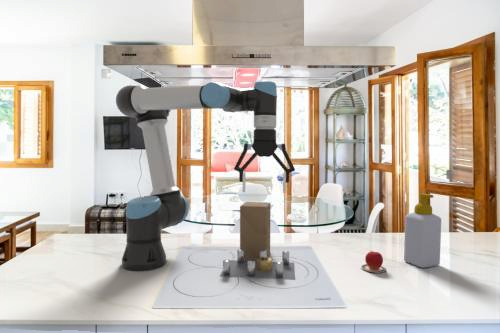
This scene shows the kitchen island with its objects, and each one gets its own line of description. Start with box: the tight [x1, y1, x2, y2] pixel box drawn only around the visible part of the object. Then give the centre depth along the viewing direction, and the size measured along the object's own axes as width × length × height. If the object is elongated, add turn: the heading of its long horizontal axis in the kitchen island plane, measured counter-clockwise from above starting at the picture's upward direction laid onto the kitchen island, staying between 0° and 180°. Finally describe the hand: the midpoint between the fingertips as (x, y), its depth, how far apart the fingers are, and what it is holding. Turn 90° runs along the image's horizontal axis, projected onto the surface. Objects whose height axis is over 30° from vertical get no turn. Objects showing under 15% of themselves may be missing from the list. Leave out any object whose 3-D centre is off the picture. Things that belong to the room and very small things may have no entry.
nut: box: [256, 256, 273, 272], centre depth 120 cm, size 5×4×4 cm
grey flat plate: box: [219, 259, 296, 281], centre depth 120 cm, size 24×16×1 cm, turn 84°
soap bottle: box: [403, 192, 442, 269], centre depth 127 cm, size 9×9×25 cm
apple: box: [360, 250, 387, 274], centre depth 121 cm, size 8×8×6 cm
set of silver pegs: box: [222, 248, 290, 278], centre depth 120 cm, size 21×14×4 cm
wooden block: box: [239, 201, 271, 260], centre depth 135 cm, size 10×10×20 cm
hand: (264, 192), depth 120 cm, fingers open, 13 cm apart
